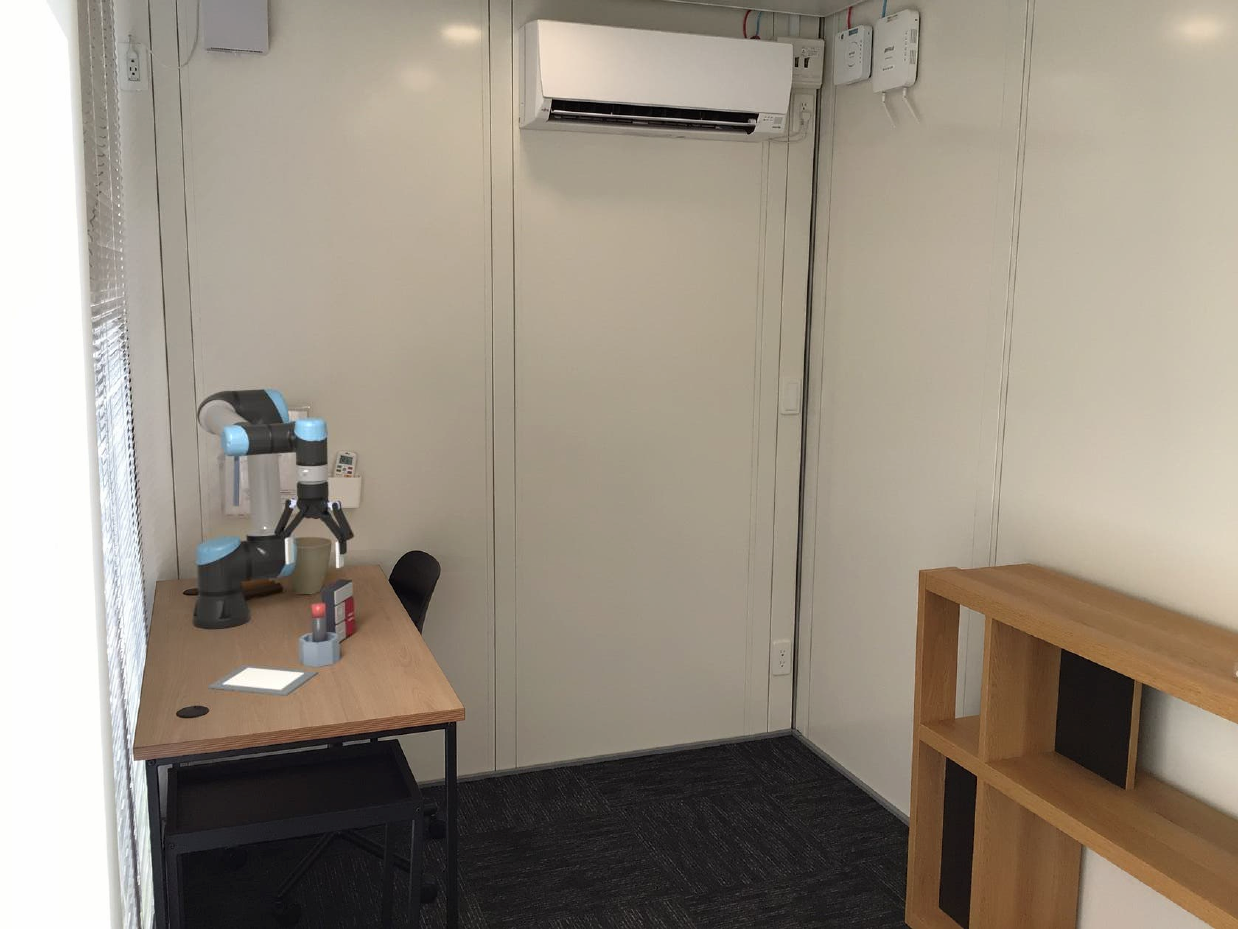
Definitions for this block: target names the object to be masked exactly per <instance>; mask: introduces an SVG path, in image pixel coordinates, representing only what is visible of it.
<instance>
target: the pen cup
mask: <svg viewBox="0 0 1238 929" xmlns="http://www.w3.org/2000/svg"><path fill="white" fill-rule="evenodd" d="M326 637H327V641H324V642H318V643H317V642H313V639H312V632H308V633H305V634H304V635H302V636H300V637H299V638H298V650H299V651H298V653H299V657H298V658H299V662H300V663H301V664H302V665H303V666H305V667H312V668H313V667H314V668H320V667H325V666H330V665H331V666H332V665H334V664H335V663H337V662H338V661H340V660H341V659H340V656H341V655H340V642H339V636H338V635H336V634H335V633H333V632H326Z"/></svg>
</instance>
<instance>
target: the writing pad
mask: <svg viewBox="0 0 1238 929" xmlns="http://www.w3.org/2000/svg"><path fill="white" fill-rule="evenodd" d="M318 674H319V671H312V670H303V669H293V668H281V667H272V666H270V667H269V666H262V665H250V664H249V665H248V664H242V665H241V666H239V667H238V668H236V669H235V670H233V671H231V672H230V673H228V674H227V675H225V676H223V677H221V678H219V679H218V680H216V681H215V682H213V683H211V684H210V685H208V686H207V688H208V689H212V688H215V689H214V690H222V689H224V690H225V691H232V690H234V692H244V693H253V692H254V693H256V694H265V695H274V696H275V695H276V696H284V697H287V696H288V695H291V693H293V692H294V691H296V690H297V689H298V688H300V687H301V686H302V685H304V684H305V683H307V682H308V681H309V680H311V679H312V678H313V677H315V676H316V675H318Z"/></svg>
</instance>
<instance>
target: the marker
mask: <svg viewBox="0 0 1238 929" xmlns="http://www.w3.org/2000/svg"><path fill="white" fill-rule="evenodd" d="M310 606H311V609H310V610H311V631H312V632H311V633H312V639H313V642H317V643H318V642H324V641H327V637H326V606H325V603H322V602H314V603H311V605H310Z"/></svg>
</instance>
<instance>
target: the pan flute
mask: <svg viewBox="0 0 1238 929" xmlns="http://www.w3.org/2000/svg"><path fill="white" fill-rule="evenodd" d="M283 590H284V587H283V585H282V584H281V582H277V583H276V581H275V580H270V579H262V580H255V581H247V582H242V592H243V595H244V598H245V600H246V601H248V600H251V598H253V599H256V598H255V597H257V598H261V597H266V595H267V596H271V595H275V594H280V592H281V593H283ZM270 594H271V595H270Z"/></svg>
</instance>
